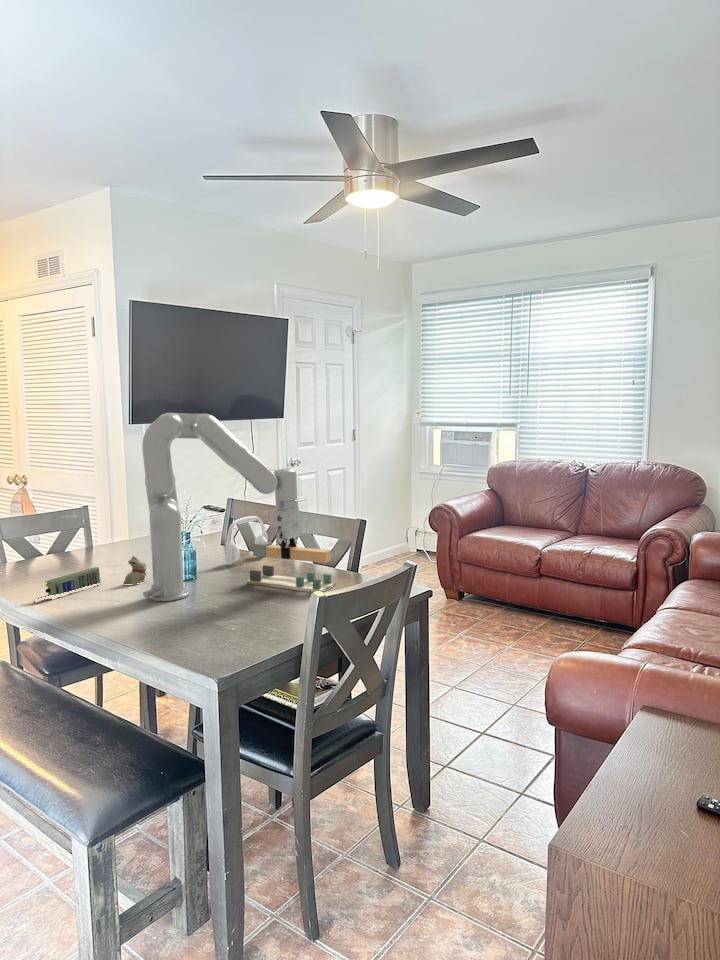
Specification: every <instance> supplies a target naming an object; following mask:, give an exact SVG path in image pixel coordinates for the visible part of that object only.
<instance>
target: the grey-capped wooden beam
mask: <svg viewBox="0 0 720 960" xmlns="http://www.w3.org/2000/svg"><path fill="white" fill-rule="evenodd" d="M288 547H290V546H288ZM252 554H253V557H258V558H271V559H281V560H283V559H282V558H281V547H280V545H279V544H277V545H276V544H273V542H271V541H268V542H262V541H260V542H257V543H255V542H254V543H253V544H252ZM331 557H332V556H331V549H324V548H323V549H321V548H312V547H301V546H296V547H290V559H289V560H290V561H292V560H293V561H300V562H301V561H302V562H309V563H310V562H313V563H324V564H326V563H328V562H330V561H332V558H331Z"/></svg>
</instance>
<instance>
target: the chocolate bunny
mask: <svg viewBox="0 0 720 960" xmlns="http://www.w3.org/2000/svg"><path fill="white" fill-rule="evenodd" d="M128 565H130V566H131V569H132V570H131V571H130V572H129V573H128V574H127V573H126V576H125V578H124V581H123V584H137V583H141V582H144V581H145V582H146V580H145V578H146V575H147V573H146V571H147V564H146V563H145V562H143V561H141V560H139V558H137V557H136V556H135V555H132V557H131V559H130V560H128ZM145 582H144V583H145Z"/></svg>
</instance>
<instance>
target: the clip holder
mask: <svg viewBox="0 0 720 960" xmlns="http://www.w3.org/2000/svg"><path fill="white" fill-rule="evenodd" d="M274 568H275V567H274V565H267V564H264V565H262V571H261V570H249V579H247V580H246V584H249V585H258V586H264V587H270V588H271V587H272V588H279V589H286V590H292V591H293V590H294V591H301V592H307V593H308V592H309V593H314V592H313V591H325V592H327V591H329V590H330V589H332V588H334V587H336V586H337V585H336V584H337V583H336V582H332V574H330V573H323V575H322V578H323V580H322V579H320V578H319V579H317V578H316V573H315V571H306V577H307V578H305V577H302V576H297V577H292V576H285V575H278V574H277V575H276V574H275V569H274ZM335 585H336V586H335ZM333 586H334V587H333ZM331 587H332V588H331ZM328 589H329V590H328ZM310 591H311V592H310Z"/></svg>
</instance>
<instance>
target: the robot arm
mask: <svg viewBox="0 0 720 960" xmlns="http://www.w3.org/2000/svg"><path fill="white" fill-rule="evenodd" d="M175 439H194V440H195V439H199V440H200V441H201V442H203V444H205V445H206V446H207V447H208V448H209V449H210V450H211V451H212V452H213V453H214V454H216V456H218V457H219V458H220V459H221V460H222V461H223V462H224V463H225V464H226V465H227V466H229V467H230V468H232V469H233V470H235V471H236V472H237V473H239V475H241V476H242V477H243V478H244V479H245V480H247V481H248V482H249V484H250V485H252V487H253V489H254V490H255V489H256V491H258V492H259V493H260V494H263V495H269V494H272V493H273V492H274V494H275V523H274V524H275V526H274V528H275V529H274V530H275V537H276V538H275V543H277V544H278V545H279V546H280V547H281V558H282V559H281V560H290V547H297V545H298V539H299V537H300V536H301V535H302V532H303V531H302V520H301V519H302V518H301V512H300V509H299V504H298V503H299V502H298V498H299V497H298V480H297V479H298V478H297V470H295V469H294V468H279V469H270V468H268V467H267V466H266V465H265V464H264V463H263V461H260V459H258V457H257V456H255V455H254V453H252V451H250V449H248V447H247V446H246V445H245V444H244V443H243V442H242V441H240V440H239V439H238V438H237V437H236V436H235V435H234V434H233V433H232V432H231V431H230V430H229V429H228V428H227V427H226V426H225V425H224V424H223V423H222V422H221V421H219V420H218V418H216V417H215V416H214V415H212V414H209V413H183V412H182V413H181V412H178V413H177V412H165V413H163V414H160V415H159V417H157V418H156V419H155V420H154V421H153V422H151V423H150V424H149V425H148V427H147V429H146V431H145V432H144V434H143V439H142V458H143V467H144V474H145V476H144V485H145V490H146V495H147V496H146V498H147V504H148V510H149V530H150V549H151V562H152V563H151V564H152V580H153V581H152V582H153V584H152V585H151V586H150V587H151V588H150V589H148V590H146V591H145V590H144V591H143V593H142V596H143V597H144V598H149V599H150V600H152V601H156V602H171V601H178V600H181V599H184V598H186V597H187V596H189V589H187V588H185V587H184V585H185V584H184V566H183V564H184V563H183V547H182V546H183V545H182V544H183V543H182V515H181V510H180V508H179V503H178V495H177V487H176V478H175V475H174V470H173V465H172V455H171V444H172V442H173V441H174V440H175ZM288 546H290V547H288Z"/></svg>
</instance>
